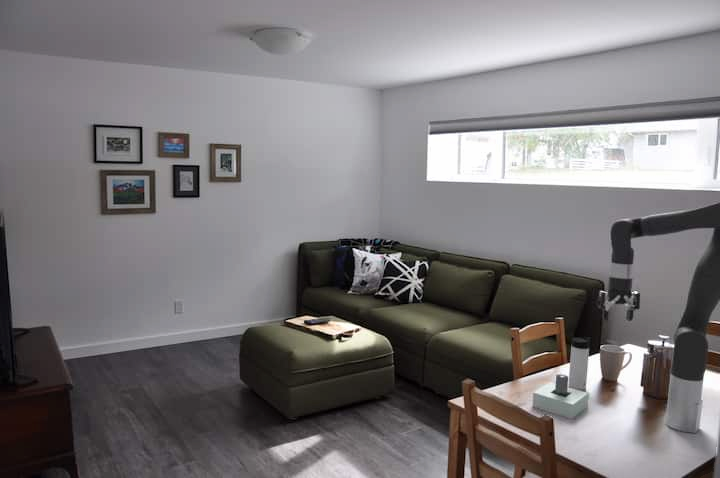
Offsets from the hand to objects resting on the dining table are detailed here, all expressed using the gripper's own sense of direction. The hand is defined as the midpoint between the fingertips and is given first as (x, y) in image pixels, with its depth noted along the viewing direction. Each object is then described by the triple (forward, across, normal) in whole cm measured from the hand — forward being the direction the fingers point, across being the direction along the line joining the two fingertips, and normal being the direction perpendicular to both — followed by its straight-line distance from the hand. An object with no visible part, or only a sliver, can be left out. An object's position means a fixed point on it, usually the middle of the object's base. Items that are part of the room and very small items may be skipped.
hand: (617, 320), depth 198 cm
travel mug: (+30, +7, -11) cm, 33 cm away
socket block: (+30, +20, +5) cm, 37 cm away
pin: (+29, +20, +5) cm, 36 cm away
